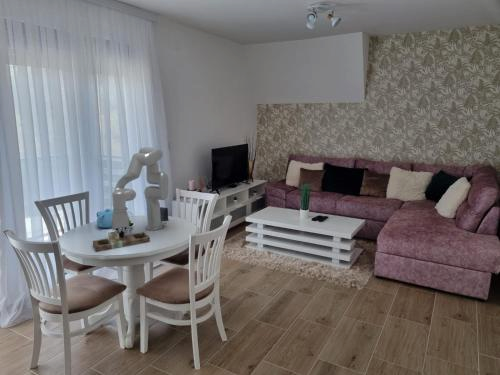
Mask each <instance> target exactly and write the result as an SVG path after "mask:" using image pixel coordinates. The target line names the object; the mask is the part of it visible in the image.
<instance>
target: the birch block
mask: <svg viewBox="0 0 500 375" xmlns="http://www.w3.org/2000/svg"><path fill="white" fill-rule="evenodd" d="M107 235H108V238H109V241H110V242H111V243H112V242H118V241H119V232H118V231H117V230H114V231H110V232H108V234H107Z"/></svg>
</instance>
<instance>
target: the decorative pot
mask: <svg viewBox="0 0 500 375" xmlns="http://www.w3.org/2000/svg"><path fill="white" fill-rule="evenodd" d="M113 212H114V211H113V209H110V208H105V209H104V210H101V211H97V212H96V218H97V219H96V225H97V226H98V227H99V228H101V229H103V228H107V229H112V213H113Z"/></svg>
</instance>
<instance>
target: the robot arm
mask: <svg viewBox="0 0 500 375" xmlns="http://www.w3.org/2000/svg"><path fill="white" fill-rule="evenodd" d="M163 154H164V153H163V150H161V148H159V147H141V148H139V151H138V152H136V153H134V154H133V155H132V156H131V158H130V159H131V160H130V162H129V165H128V167H127V172H126V173H125V174H124V175H123V176H122V177H121V178H119V180H118V181H117V183H116V184H115V187H114V191H113V192H112V196H111V197H112V198H111V200H112V210H113V211H114V212H113V213H112V228H111V229H112V231H116V232H117V233H118V234H119V237H120V238H124V237H123V236H124V235H125V231H126V230H127V229H129V228H130V219H129V218H130V217H129V214H128V210H129V208H128V207H126V202H129V201H133V200H135V199H136V197H137V193H136V192H137V191H135V190H134V189H131V188H125V187H126V185H127V184H129V183H130V182H132V181H134V180H137V179H138V178H140V176H141V173H142V171H143V167H144V166H146V167H145V168H146V182H147V184H150V185H148V186H146V187H145V189H144V191H143V192H144V193H143V194H144V198H145V202H146V218H147V219H146V220H147V221H146V222H147V225H146V226H145V229H146V230H147V231H148V230H149V231H157V230H161V229H164V225H167V224H168V221H165V222H164V221H161V217H160V207H161V204H160V202H159V201H163V200H167V199H168V197H169V175H168V174H167V173H166V172H165V171H159V167H160V166H159V161H160V160H161V159H162V158H163Z"/></svg>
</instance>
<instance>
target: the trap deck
mask: <svg viewBox="0 0 500 375" xmlns="http://www.w3.org/2000/svg"><path fill="white" fill-rule="evenodd" d="M123 237H124V238H120V237H119V241H118V242H112V243H111V242H110V241H109V237H106V238H102V239H97V240H92V246H93V247H94V250H95V251H96V252H103V251H108V250H114V249H119V248H123V247H130V246H134V245H141V244H145V243H150V242H151V238H150V236H149V235H148V234H146V232H145V231H143V232H137V233H131V234H124V236H123Z"/></svg>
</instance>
